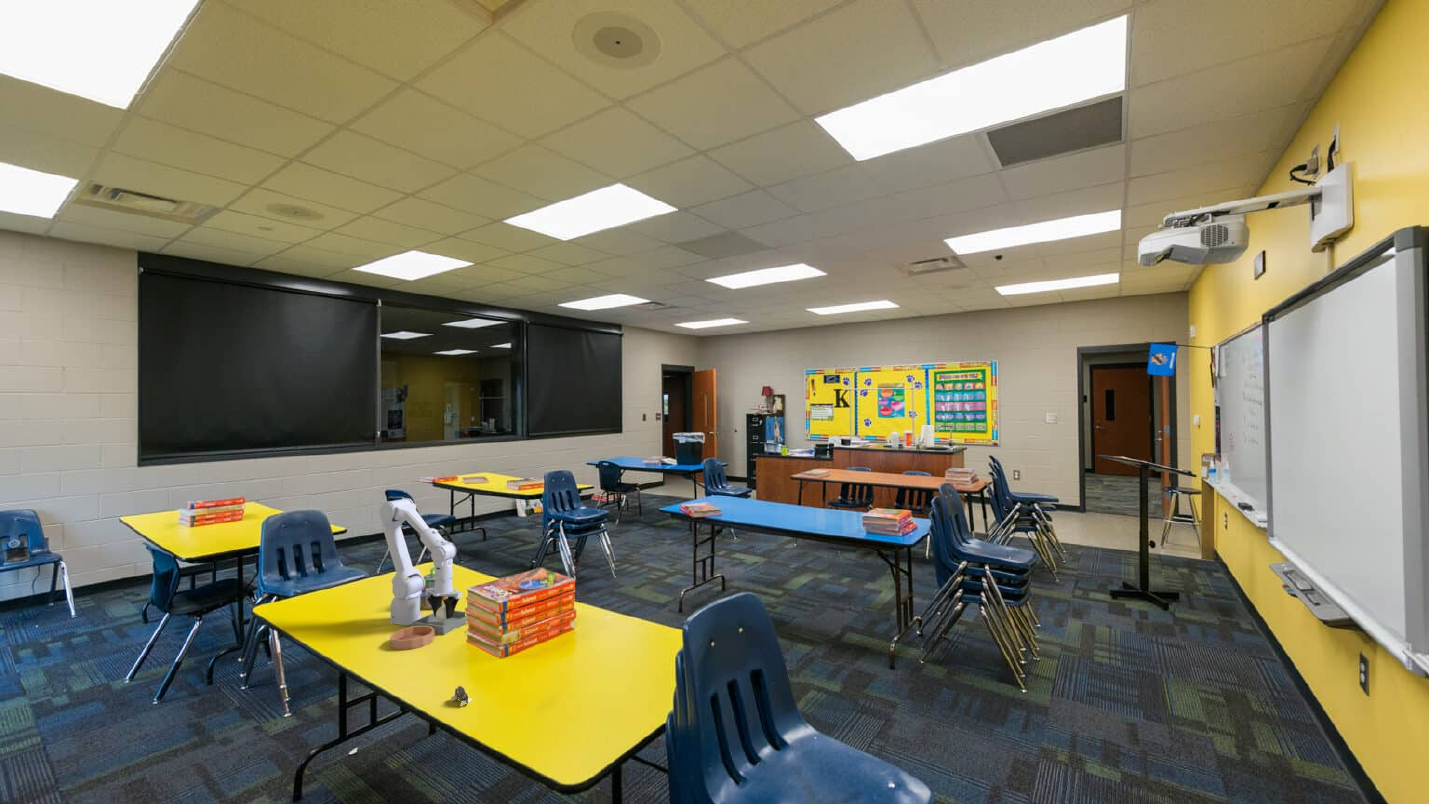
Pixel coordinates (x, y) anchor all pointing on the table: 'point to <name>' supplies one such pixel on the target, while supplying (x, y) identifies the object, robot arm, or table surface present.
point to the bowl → (412, 637)
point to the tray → (442, 622)
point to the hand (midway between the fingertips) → (443, 617)
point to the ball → (441, 614)
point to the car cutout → (461, 696)
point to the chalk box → (428, 584)
